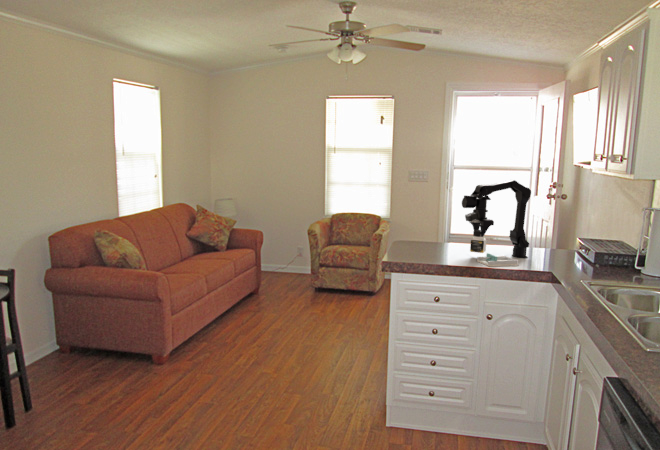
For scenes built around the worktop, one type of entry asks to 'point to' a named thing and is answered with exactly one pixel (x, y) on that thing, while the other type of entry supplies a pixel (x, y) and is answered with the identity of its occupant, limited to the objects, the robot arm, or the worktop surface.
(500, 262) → the lane
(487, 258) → the pusher
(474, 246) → the medicine bottle
